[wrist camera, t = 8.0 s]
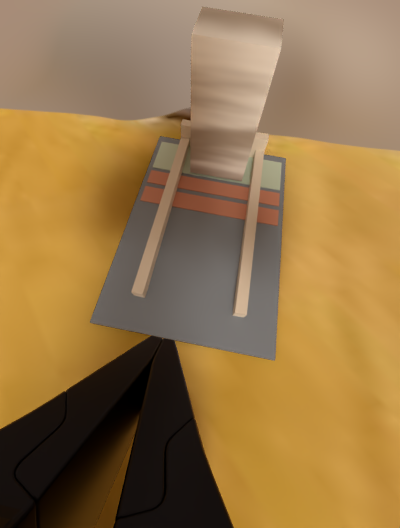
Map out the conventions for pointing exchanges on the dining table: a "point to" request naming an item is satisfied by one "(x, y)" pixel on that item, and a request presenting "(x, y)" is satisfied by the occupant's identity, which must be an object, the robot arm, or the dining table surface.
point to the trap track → (201, 254)
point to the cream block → (229, 87)
